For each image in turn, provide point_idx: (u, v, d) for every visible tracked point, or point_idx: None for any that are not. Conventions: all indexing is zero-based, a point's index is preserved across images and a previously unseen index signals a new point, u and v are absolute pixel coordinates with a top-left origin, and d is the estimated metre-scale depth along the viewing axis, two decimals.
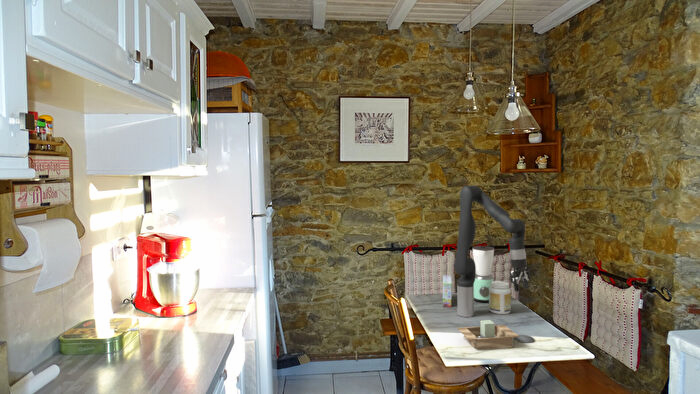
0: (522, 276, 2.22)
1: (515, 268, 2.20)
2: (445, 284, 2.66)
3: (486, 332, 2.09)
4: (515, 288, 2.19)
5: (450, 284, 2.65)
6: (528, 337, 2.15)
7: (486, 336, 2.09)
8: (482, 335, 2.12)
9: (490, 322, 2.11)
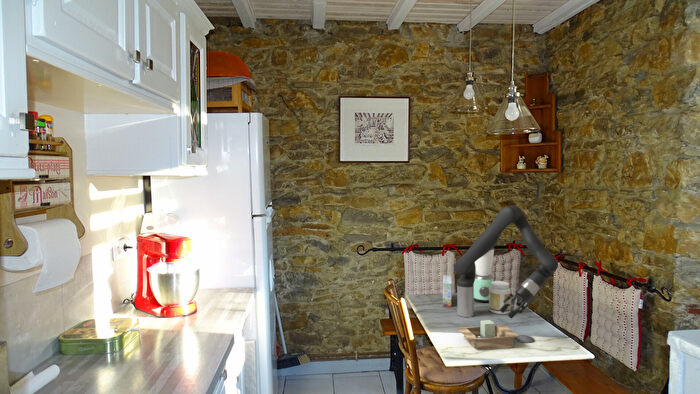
0: None
1: (525, 299, 2.09)
2: (445, 284, 2.66)
3: (486, 332, 2.09)
4: (512, 315, 2.08)
5: (450, 284, 2.65)
6: (528, 337, 2.15)
7: (486, 336, 2.09)
8: (482, 335, 2.12)
9: (490, 322, 2.11)
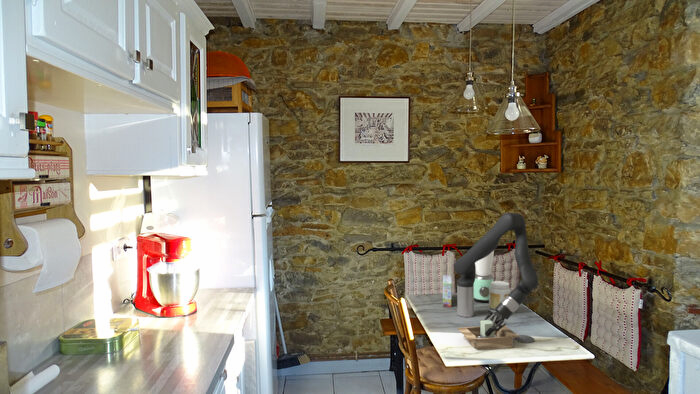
0: None
1: (504, 317, 2.08)
2: (445, 284, 2.66)
3: None
4: (489, 333, 2.08)
5: (450, 284, 2.65)
6: (528, 337, 2.15)
7: (486, 336, 2.09)
8: (482, 335, 2.12)
9: (490, 322, 2.11)
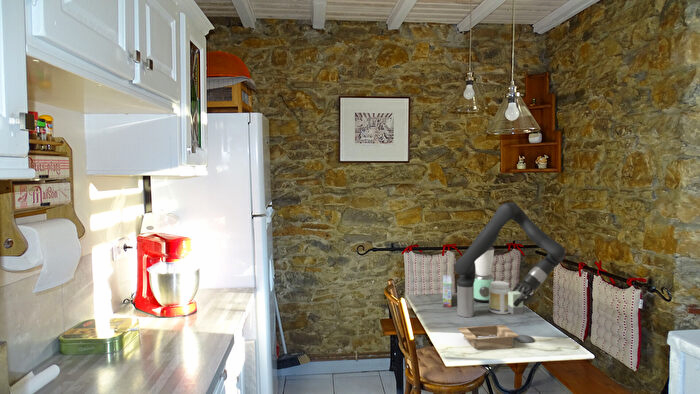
0: None
1: (532, 287, 2.09)
2: (445, 284, 2.66)
3: None
4: (517, 303, 2.09)
5: (450, 284, 2.65)
6: (528, 337, 2.15)
7: (514, 306, 2.10)
8: (510, 306, 2.12)
9: (518, 293, 2.11)
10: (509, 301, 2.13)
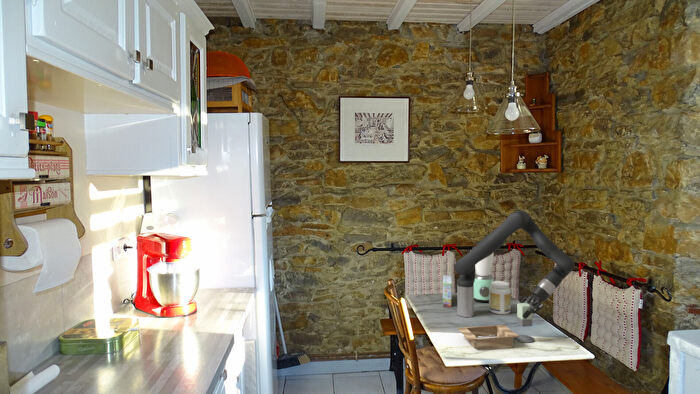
0: None
1: (541, 299, 2.10)
2: (445, 284, 2.66)
3: None
4: None
5: (450, 284, 2.65)
6: (528, 337, 2.15)
7: (524, 318, 2.11)
8: (519, 318, 2.14)
9: (527, 305, 2.13)
10: (518, 313, 2.15)
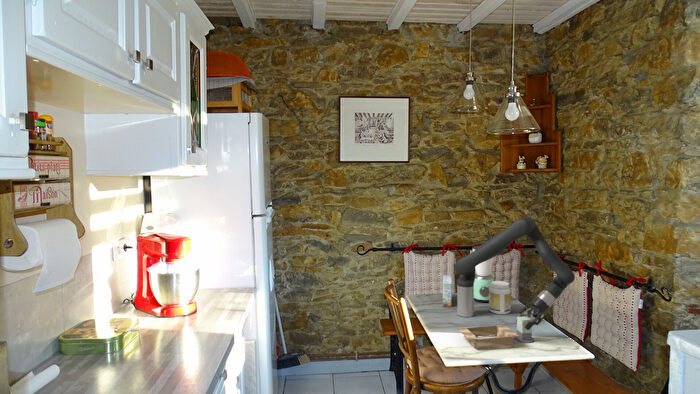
0: None
1: (541, 311, 2.11)
2: (445, 284, 2.66)
3: (523, 328, 2.11)
4: (528, 326, 2.09)
5: (450, 284, 2.65)
6: None
7: (523, 332, 2.12)
8: (519, 331, 2.14)
9: (527, 318, 2.13)
10: (518, 326, 2.15)
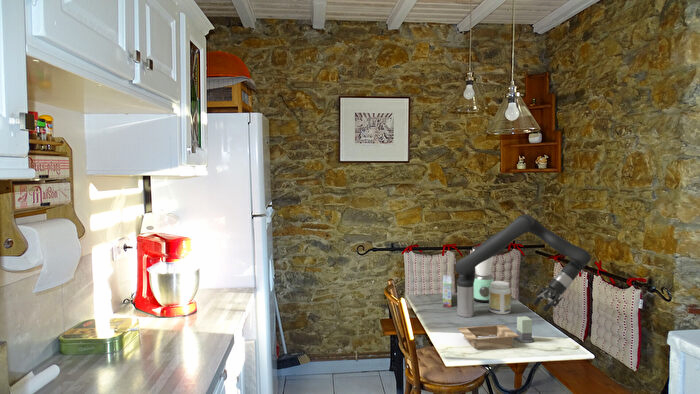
0: None
1: (558, 293, 2.12)
2: (445, 284, 2.66)
3: (523, 328, 2.11)
4: (546, 308, 2.10)
5: (450, 284, 2.65)
6: None
7: (523, 332, 2.12)
8: (519, 331, 2.14)
9: (527, 318, 2.13)
10: (518, 326, 2.15)
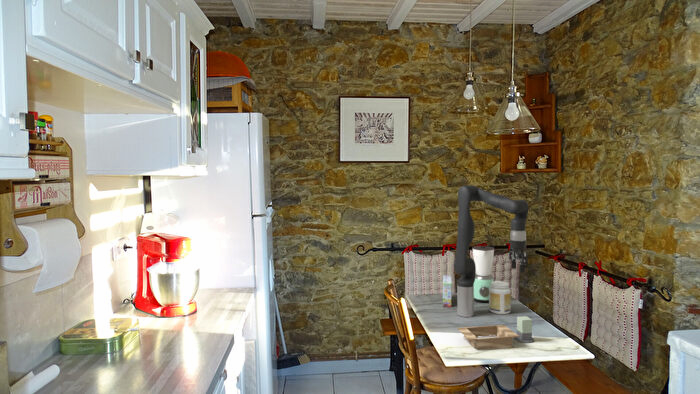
0: None
1: (522, 249, 2.18)
2: (445, 284, 2.66)
3: (523, 328, 2.11)
4: (522, 269, 2.18)
5: (450, 284, 2.65)
6: None
7: (523, 332, 2.12)
8: (519, 331, 2.14)
9: (527, 318, 2.13)
10: (518, 326, 2.15)
